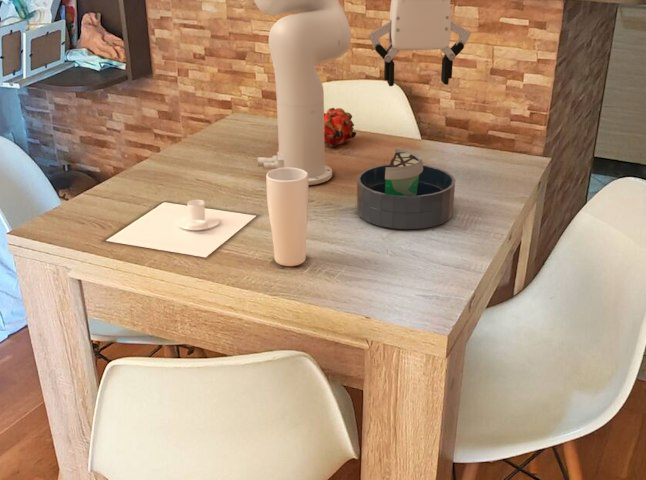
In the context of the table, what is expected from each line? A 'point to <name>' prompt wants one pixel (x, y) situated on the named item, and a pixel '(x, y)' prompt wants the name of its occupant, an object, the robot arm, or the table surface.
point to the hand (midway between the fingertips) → (417, 83)
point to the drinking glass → (288, 213)
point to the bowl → (406, 199)
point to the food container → (403, 173)
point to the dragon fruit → (337, 127)
